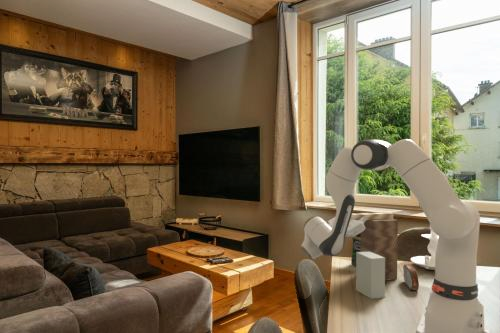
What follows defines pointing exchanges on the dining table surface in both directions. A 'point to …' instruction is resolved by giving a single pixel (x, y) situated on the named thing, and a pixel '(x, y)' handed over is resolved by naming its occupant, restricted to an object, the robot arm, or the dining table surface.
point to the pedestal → (370, 274)
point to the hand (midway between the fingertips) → (359, 215)
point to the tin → (410, 277)
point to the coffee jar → (355, 247)
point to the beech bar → (372, 216)
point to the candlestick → (432, 246)
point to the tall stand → (382, 243)
